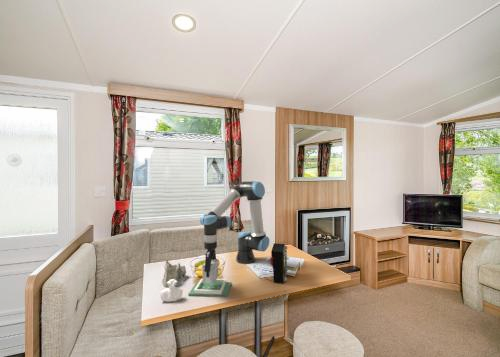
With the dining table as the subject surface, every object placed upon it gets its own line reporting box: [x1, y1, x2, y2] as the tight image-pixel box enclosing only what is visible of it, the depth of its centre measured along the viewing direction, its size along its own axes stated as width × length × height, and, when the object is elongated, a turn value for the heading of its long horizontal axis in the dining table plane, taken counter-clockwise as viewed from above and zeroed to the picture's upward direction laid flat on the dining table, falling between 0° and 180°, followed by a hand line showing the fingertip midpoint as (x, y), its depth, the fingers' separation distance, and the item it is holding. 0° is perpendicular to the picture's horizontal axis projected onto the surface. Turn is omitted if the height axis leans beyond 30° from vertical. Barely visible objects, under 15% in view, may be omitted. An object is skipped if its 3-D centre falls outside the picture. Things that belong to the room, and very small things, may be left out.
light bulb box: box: [201, 258, 219, 284], centre depth 134 cm, size 11×7×11 cm, turn 170°
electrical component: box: [269, 243, 288, 284], centre depth 150 cm, size 18×10×20 cm, turn 168°
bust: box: [159, 279, 184, 303], centre depth 124 cm, size 12×8×11 cm
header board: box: [188, 278, 232, 298], centre depth 134 cm, size 16×22×3 cm
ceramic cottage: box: [161, 258, 188, 289], centre depth 146 cm, size 16×16×15 cm
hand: (210, 277), depth 134 cm, fingers closed on light bulb box, 11 cm apart
